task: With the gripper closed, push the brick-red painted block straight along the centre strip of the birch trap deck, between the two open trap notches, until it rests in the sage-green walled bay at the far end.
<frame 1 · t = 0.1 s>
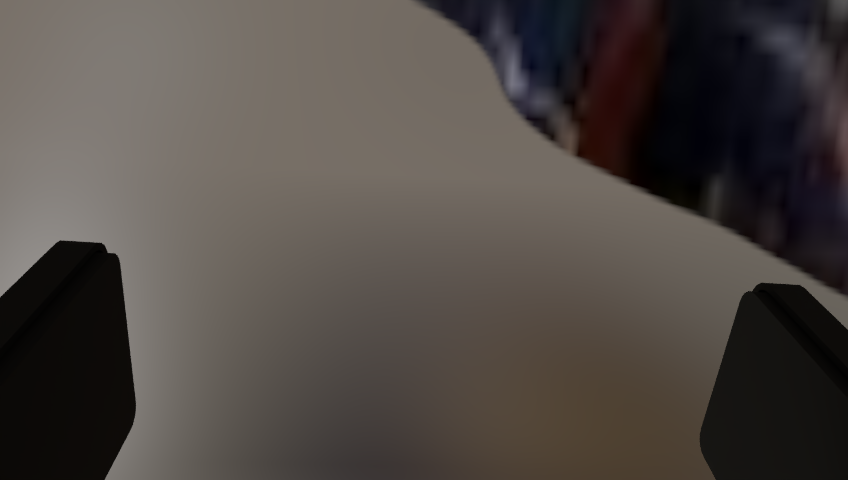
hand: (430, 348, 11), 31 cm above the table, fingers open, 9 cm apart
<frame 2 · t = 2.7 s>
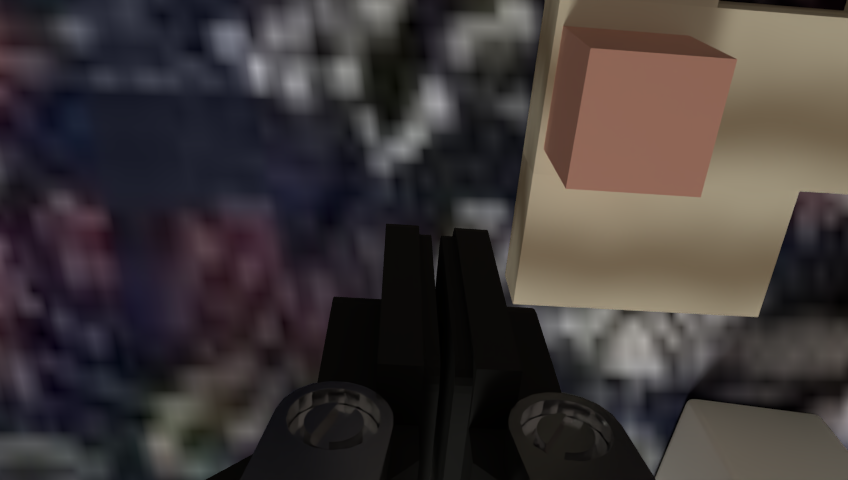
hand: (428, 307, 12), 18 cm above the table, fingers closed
block: (614, 94, 26), point 2 cm above the table, touching trap deck
medicine bottle: (727, 455, 37), on the table
trap deck: (816, 94, 29), on the table
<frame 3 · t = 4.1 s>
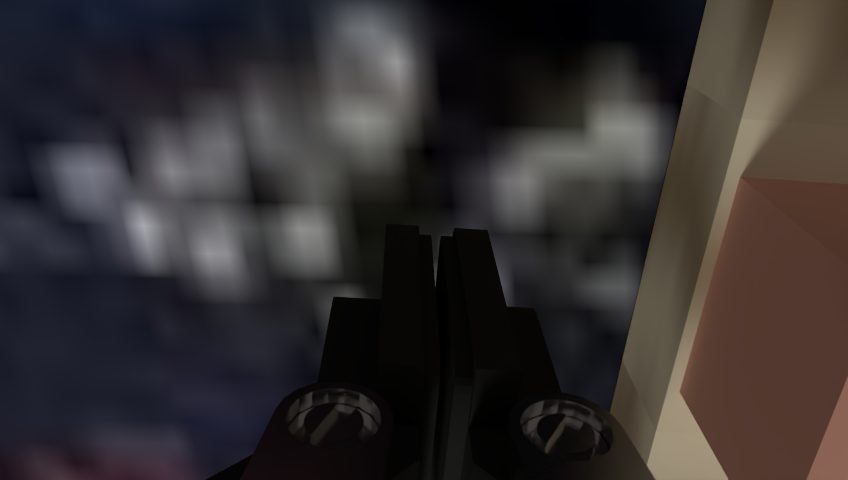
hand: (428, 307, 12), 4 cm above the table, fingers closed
block: (826, 299, 13), point 2 cm above the table, touching trap deck
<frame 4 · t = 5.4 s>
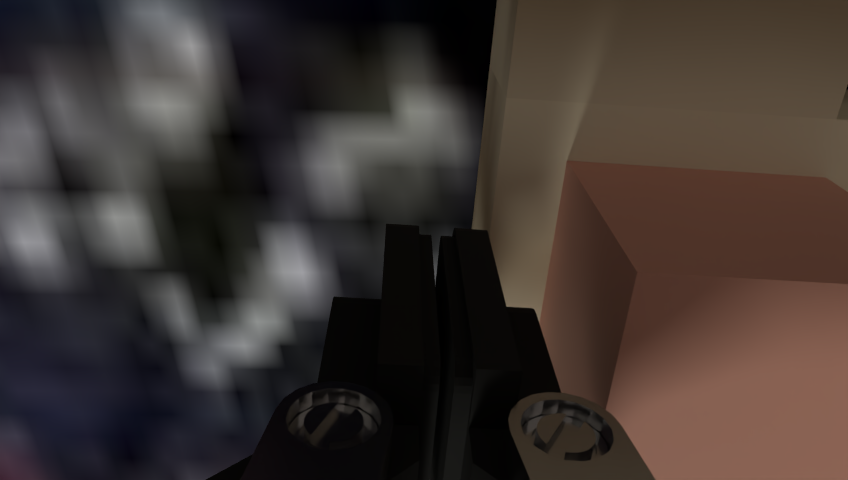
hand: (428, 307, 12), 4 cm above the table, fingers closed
block: (668, 285, 13), point 3 cm above the table, touching gripper, trap deck
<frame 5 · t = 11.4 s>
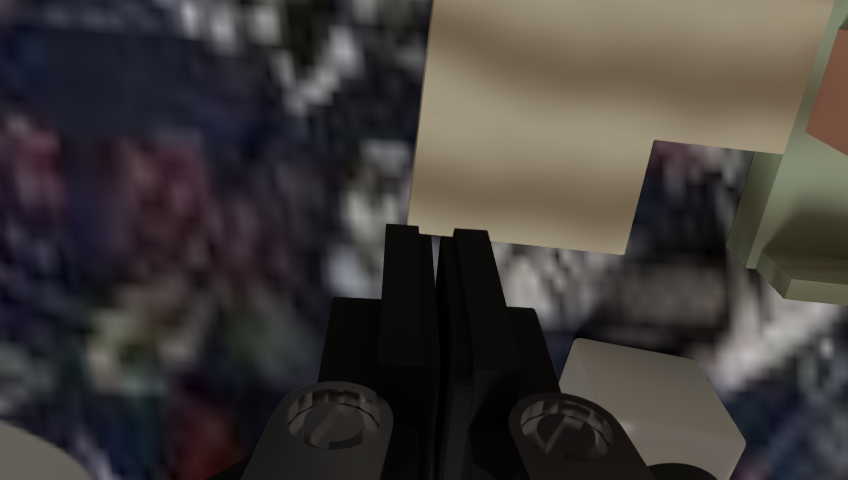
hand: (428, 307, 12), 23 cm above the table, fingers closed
medicine bottle: (614, 395, 41), on the table
trap deck: (676, 59, 33), on the table
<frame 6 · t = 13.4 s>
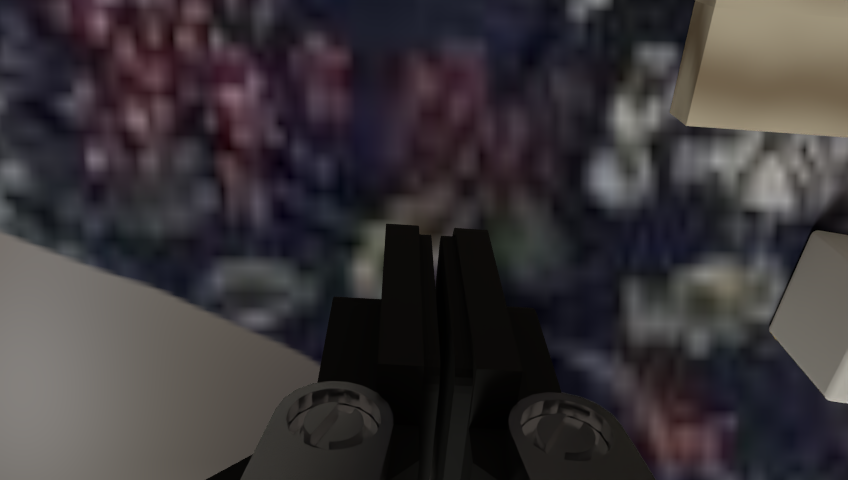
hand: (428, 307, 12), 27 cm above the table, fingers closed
medicine bottle: (840, 287, 44), on the table
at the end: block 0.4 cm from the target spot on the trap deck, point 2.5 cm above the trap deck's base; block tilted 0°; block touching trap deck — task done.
